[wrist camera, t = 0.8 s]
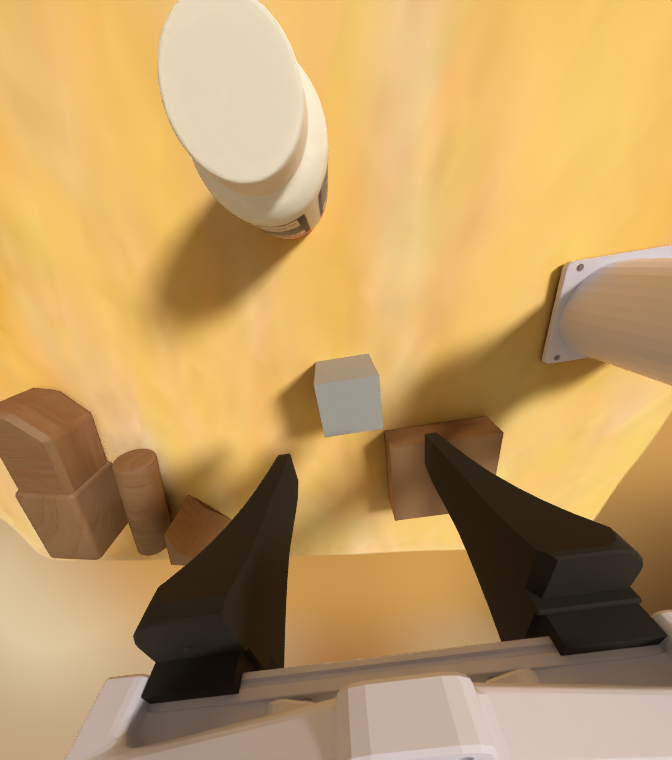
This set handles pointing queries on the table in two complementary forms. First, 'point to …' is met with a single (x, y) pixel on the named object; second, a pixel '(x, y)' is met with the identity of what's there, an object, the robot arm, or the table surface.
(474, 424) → the walnut block
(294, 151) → the pill bottle
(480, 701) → the robot arm
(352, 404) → the grey cube
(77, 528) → the wooden block set
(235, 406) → the table surface
